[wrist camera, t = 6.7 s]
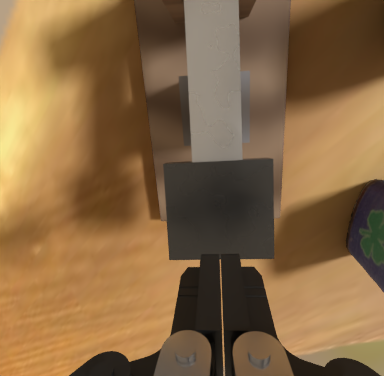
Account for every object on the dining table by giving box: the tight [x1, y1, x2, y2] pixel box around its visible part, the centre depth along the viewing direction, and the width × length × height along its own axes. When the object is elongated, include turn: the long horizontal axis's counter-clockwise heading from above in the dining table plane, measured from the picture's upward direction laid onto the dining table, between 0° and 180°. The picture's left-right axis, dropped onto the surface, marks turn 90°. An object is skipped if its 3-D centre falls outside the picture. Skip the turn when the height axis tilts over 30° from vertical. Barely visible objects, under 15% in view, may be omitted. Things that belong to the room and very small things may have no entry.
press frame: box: [134, 0, 291, 221], centre depth 21 cm, size 24×13×12 cm, turn 4°
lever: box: [163, 0, 274, 260], centre depth 16 cm, size 19×6×2 cm, turn 4°
